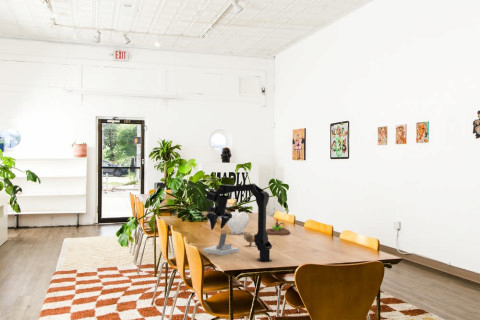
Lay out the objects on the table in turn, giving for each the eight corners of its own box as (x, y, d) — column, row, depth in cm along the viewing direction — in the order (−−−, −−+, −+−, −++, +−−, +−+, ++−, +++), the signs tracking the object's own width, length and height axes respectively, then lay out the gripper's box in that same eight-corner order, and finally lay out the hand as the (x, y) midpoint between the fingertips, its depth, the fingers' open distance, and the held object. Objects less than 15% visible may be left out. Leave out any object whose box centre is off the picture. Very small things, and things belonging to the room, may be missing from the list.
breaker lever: (224, 247, 280) (227, 230, 279) (219, 249, 277) (222, 231, 275) (222, 246, 282) (225, 229, 280) (217, 247, 278) (220, 230, 276)
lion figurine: (243, 247, 294) (243, 233, 294) (243, 245, 300) (243, 232, 300) (265, 247, 294) (266, 233, 294) (265, 245, 300) (265, 232, 300)
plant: (289, 232, 359) (290, 218, 359) (290, 236, 340) (290, 221, 339) (265, 231, 361) (265, 217, 361) (264, 235, 342) (264, 220, 342)
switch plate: (239, 251, 280) (239, 243, 280) (222, 255, 268) (222, 247, 268) (220, 247, 290) (220, 240, 290) (203, 251, 278) (203, 243, 278)
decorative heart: (227, 235, 335) (228, 213, 334) (224, 233, 345) (224, 211, 345) (250, 235, 340) (251, 212, 340) (246, 232, 350) (246, 210, 350)
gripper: (221, 200, 283) (216, 223, 285) (202, 201, 268) (197, 226, 270) (234, 205, 277) (229, 229, 278) (216, 206, 261) (210, 232, 263)
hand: (216, 229), depth 272 cm, fingers open, 9 cm apart
